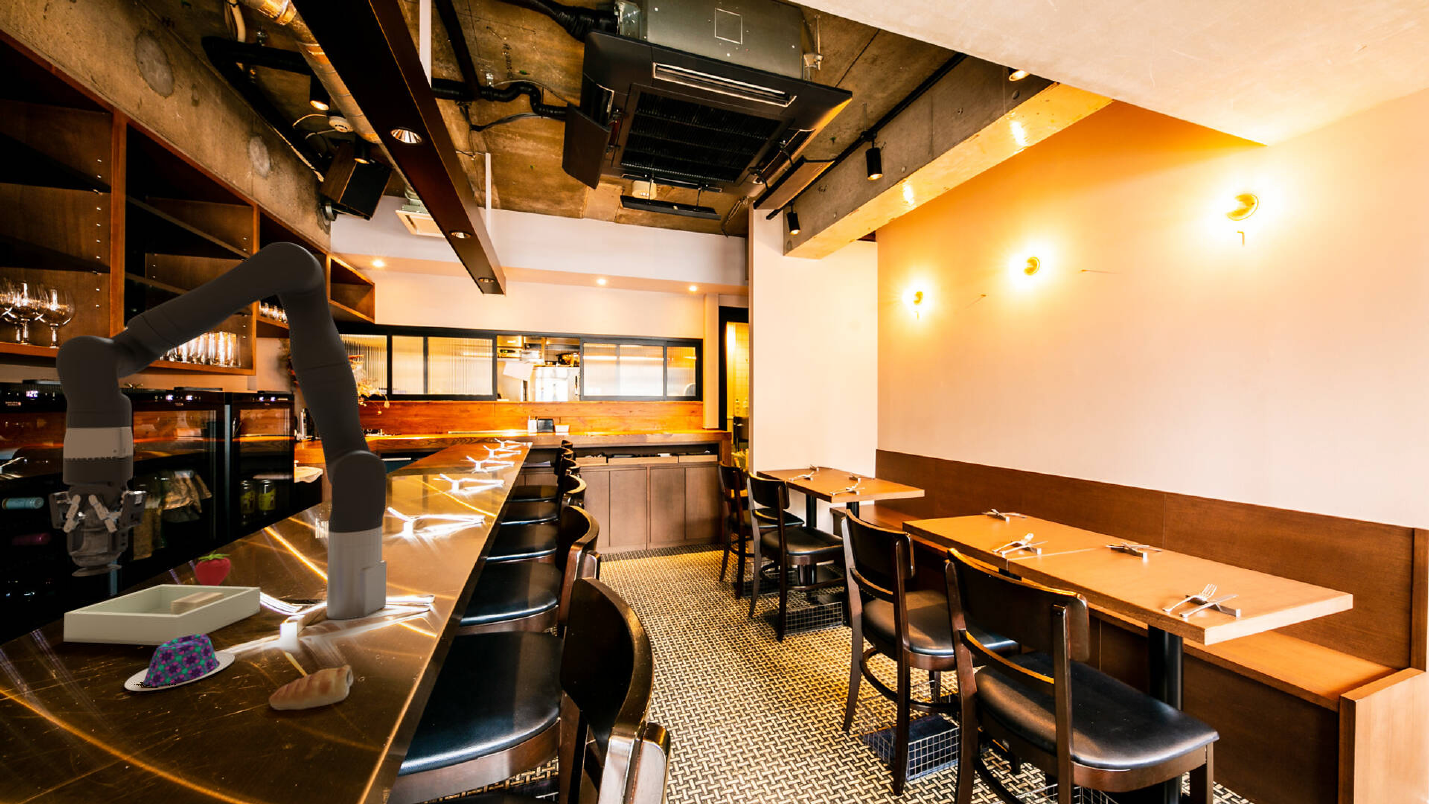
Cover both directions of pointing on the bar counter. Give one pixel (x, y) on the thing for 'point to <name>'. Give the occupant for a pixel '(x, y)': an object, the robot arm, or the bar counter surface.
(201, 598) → the maple block
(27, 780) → the bar counter surface
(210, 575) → the strawberry
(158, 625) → the tray
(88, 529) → the dark grey tiered piece
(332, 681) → the pastry
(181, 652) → the patterned hat
